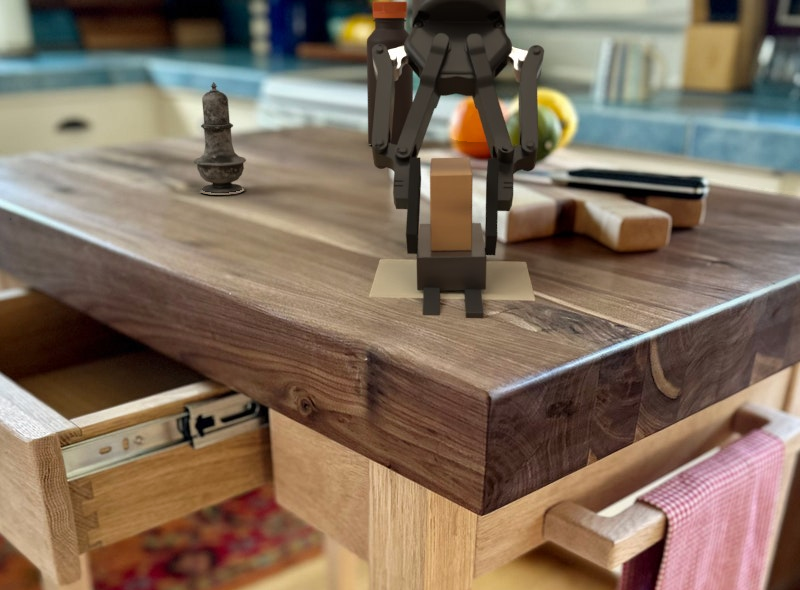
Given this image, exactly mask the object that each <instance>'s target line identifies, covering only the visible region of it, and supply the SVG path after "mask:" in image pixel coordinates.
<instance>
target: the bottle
mask: <svg viewBox="0 0 800 590" xmlns="http://www.w3.org/2000/svg"><path fill="white" fill-rule="evenodd" d="M407 13H408V2H407V1H389V0H388V1H387V0H386V1H372V18H373V20H372V22H374V30H372V32H371V33H370V34H369V36H368V37H367V39H366V81H367V82H366V84H367V85H366V86H367V143H368V145H369V144H371V145H372V143H371V142H372V131H373V120H374V108H375V97H376V86H377V79H376V76H375V74H374V65H373V55H372V48H373V47H374V46H375V45H377V44H383V45H385V46H386V47H387V49H388V50H390V49H394V48H397V47H401V46H404V43H405V41H406V39H407V38H408V36H409V35H410V33H409V32H408V31H407V30H406V27H405V22H407V20H406V19H407V18H408V14H407ZM394 86H395V98H394V111H393V123H392V136H391V144H394V145H397V143H398V141H399V138H400V135H401V133H402V130H403V127H404V125H405V122H406V119H407V116H408V114H409V111H410V108H411V106H412V103H413V100H414V96H413V95H414V92H413V91H414V71H413V70H412V69H411V68H410V66H409V65H408V64H405V65H403V67H402V73H401V75H400V76H399V77H398V80H397V81H394Z"/></svg>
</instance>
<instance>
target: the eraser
mask: <svg viewBox="0 0 800 590" xmlns="http://www.w3.org/2000/svg"><path fill="white" fill-rule="evenodd" d="M473 177H474V176H473V169H472V163H471V158H470V157H432V158H431V159H430V169H429V215H430V217H429V218H430V219H429V220H430V221H429V223H419V234H418V250H417V254H416V257H415V260H417V290H424V287H431V288H440V290H464V289H481V290H486V261H487V255H486V251H485V238H484V233H483V226H482V223H481V222H473V183H474V181H473V180H474V179H473Z"/></svg>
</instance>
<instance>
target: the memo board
mask: <svg viewBox="0 0 800 590" xmlns="http://www.w3.org/2000/svg"><path fill="white" fill-rule="evenodd" d="M528 269H529V268H528V265H527V262H526V261H505V260H504V261H503V260H502V261H500V260H486V290H481V295H482V301H483V300H487V301H529V302H531V301H533V302H536V297H535V293H534V289H533V284H532V281H531V276H530V272H529V270H528ZM423 292H424V290H417V259H393V258H392V259H391V258H389V259H388V258H380V259H379V262H378V265H377V268H376V271H375V275H374V279H373V282H372V285H371V288H370V291H369V295H368V298H386V299H387V298H391V299H392V298H393V299H394V298H395V299H423ZM441 299H442V300H465V298H464V290H440V300H441Z"/></svg>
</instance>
